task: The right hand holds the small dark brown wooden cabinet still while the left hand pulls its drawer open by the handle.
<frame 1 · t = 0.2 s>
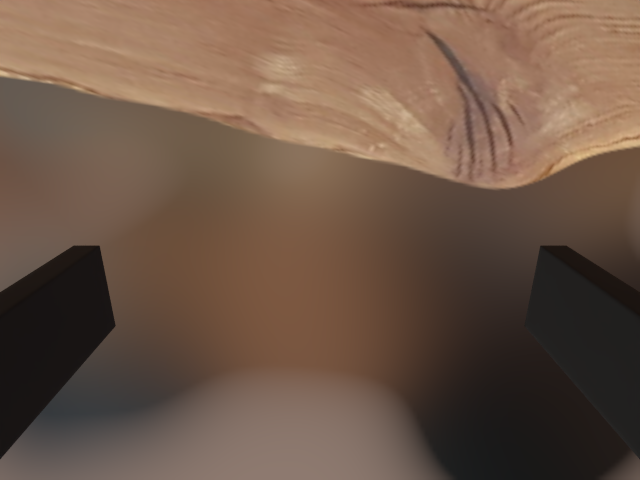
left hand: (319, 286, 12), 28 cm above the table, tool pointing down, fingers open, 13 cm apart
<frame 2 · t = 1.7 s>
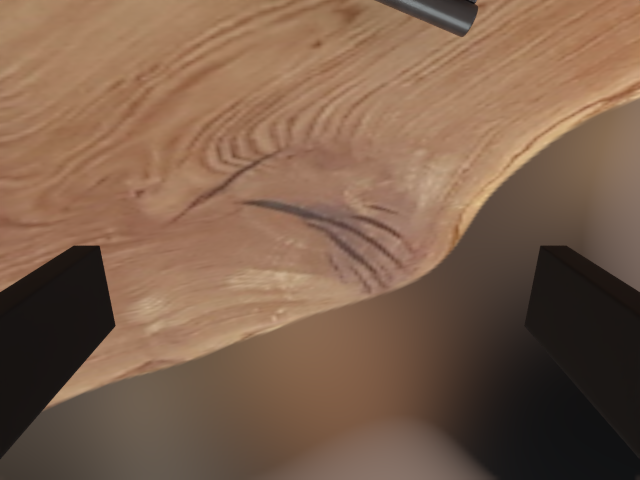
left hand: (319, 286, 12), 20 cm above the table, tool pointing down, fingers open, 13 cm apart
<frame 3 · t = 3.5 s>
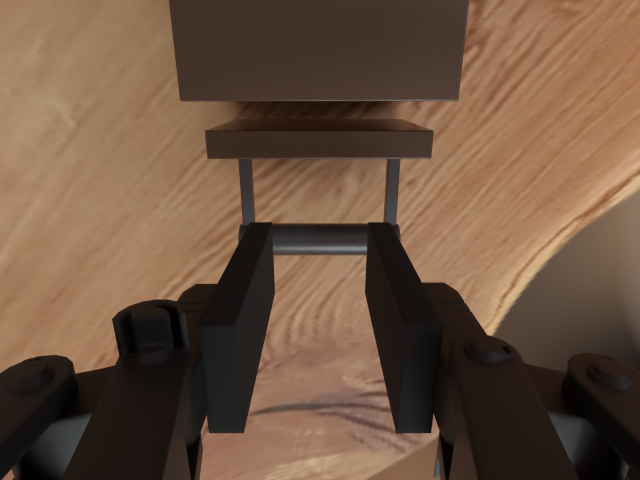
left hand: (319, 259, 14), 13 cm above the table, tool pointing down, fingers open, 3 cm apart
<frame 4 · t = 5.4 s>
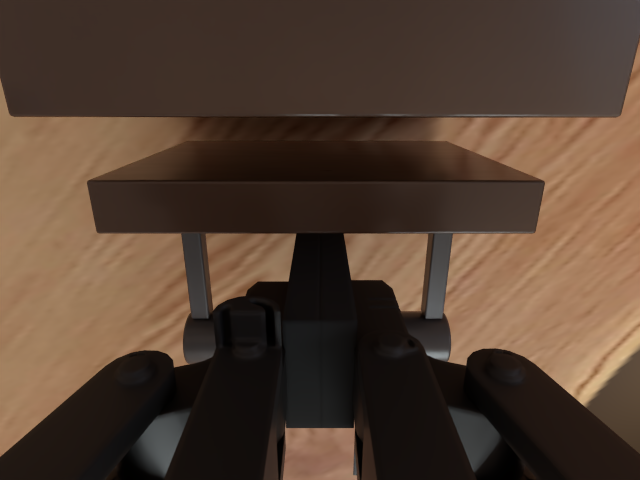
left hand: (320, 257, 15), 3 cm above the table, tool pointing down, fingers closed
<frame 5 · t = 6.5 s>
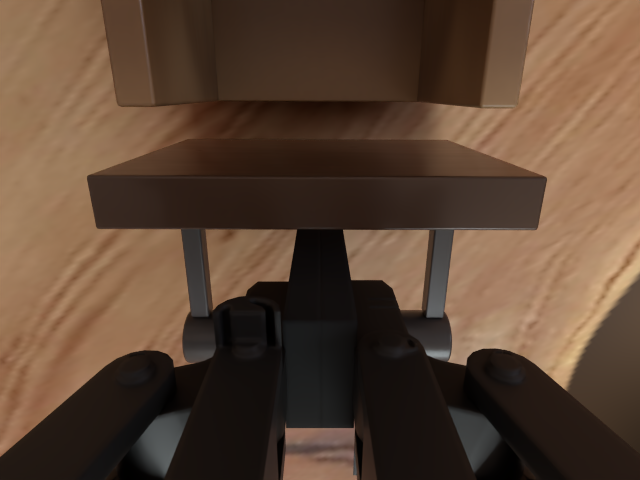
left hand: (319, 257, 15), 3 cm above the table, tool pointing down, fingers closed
when the right hand's fingers open (4 cm above the table, at t = 8.2 s): cabinet stays where it is, on the table.
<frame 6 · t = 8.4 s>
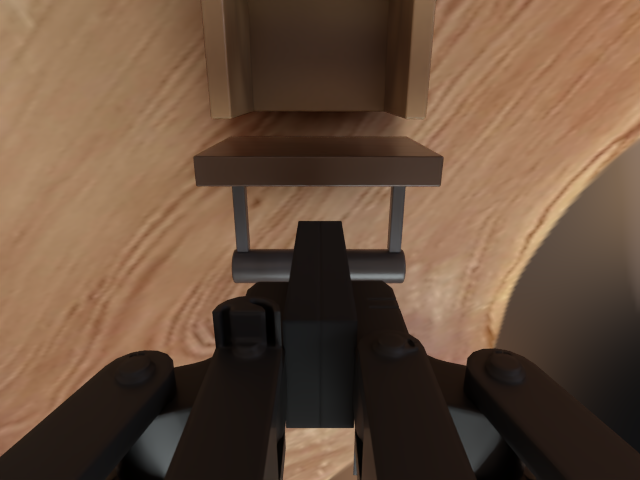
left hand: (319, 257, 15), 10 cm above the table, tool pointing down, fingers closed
drawer: (318, 8, 17), point 4 cm above the table, slide at 7.2 cm
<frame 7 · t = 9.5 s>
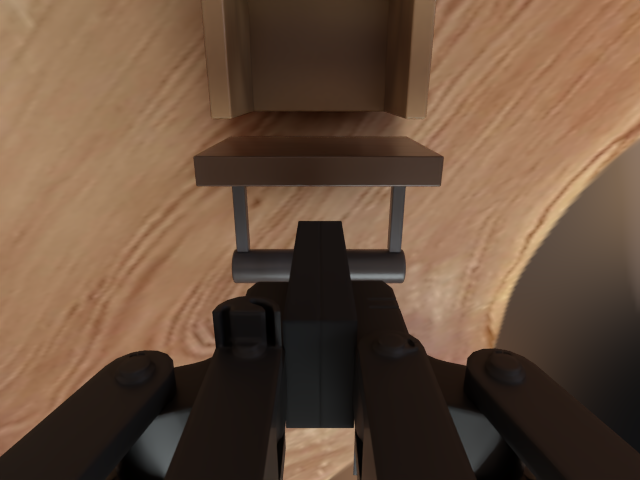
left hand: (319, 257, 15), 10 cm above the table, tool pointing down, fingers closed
drawer: (318, 8, 17), point 4 cm above the table, slide at 7.2 cm
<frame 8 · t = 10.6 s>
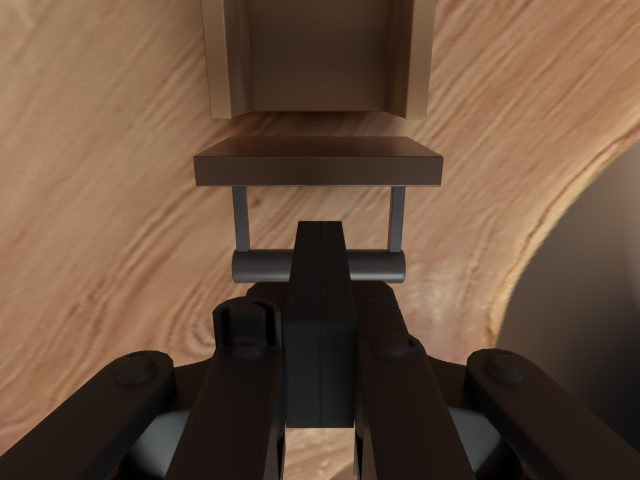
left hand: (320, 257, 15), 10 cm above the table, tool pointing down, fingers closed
drawer: (318, 8, 17), point 4 cm above the table, slide at 7.2 cm
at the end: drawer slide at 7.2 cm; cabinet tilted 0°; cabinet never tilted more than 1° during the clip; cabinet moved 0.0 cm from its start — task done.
